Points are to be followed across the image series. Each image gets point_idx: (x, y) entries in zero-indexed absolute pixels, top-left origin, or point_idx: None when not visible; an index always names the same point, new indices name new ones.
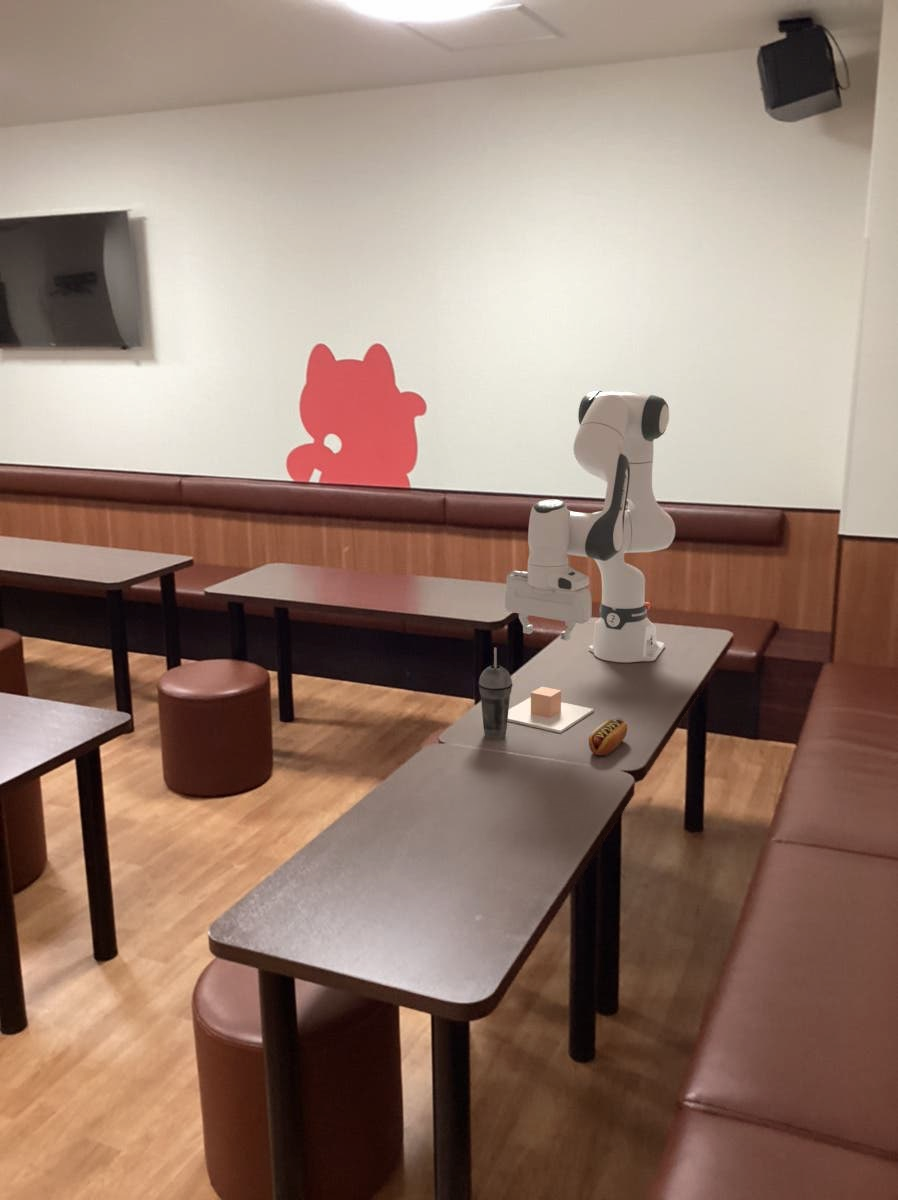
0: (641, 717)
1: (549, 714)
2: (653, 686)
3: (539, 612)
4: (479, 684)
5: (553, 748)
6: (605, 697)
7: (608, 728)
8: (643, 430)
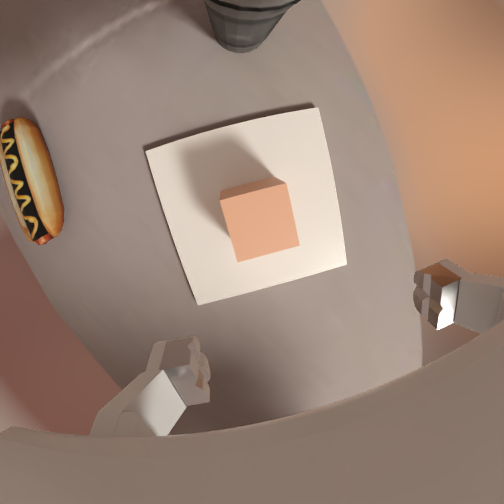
0: (122, 338)
1: (223, 191)
2: None
3: (439, 400)
4: None
5: (101, 83)
6: (241, 366)
7: (11, 174)
8: None
